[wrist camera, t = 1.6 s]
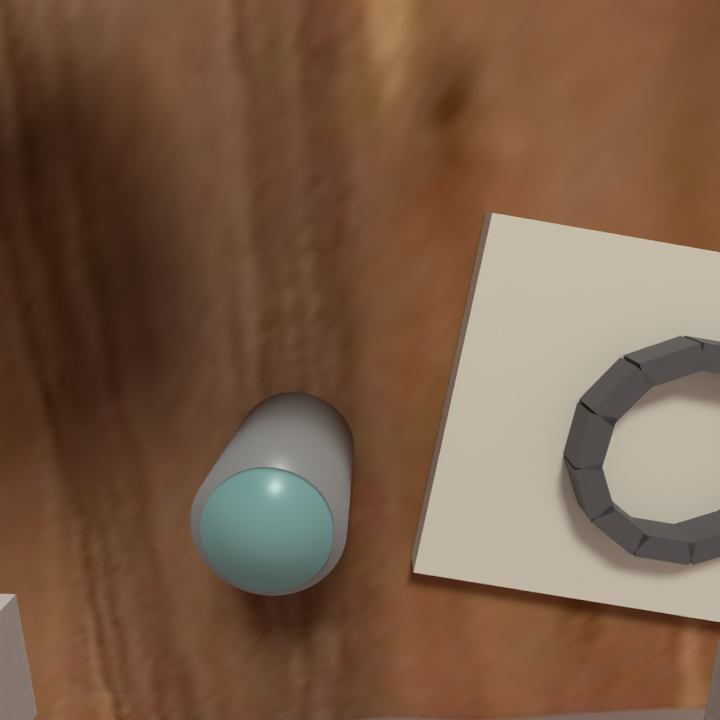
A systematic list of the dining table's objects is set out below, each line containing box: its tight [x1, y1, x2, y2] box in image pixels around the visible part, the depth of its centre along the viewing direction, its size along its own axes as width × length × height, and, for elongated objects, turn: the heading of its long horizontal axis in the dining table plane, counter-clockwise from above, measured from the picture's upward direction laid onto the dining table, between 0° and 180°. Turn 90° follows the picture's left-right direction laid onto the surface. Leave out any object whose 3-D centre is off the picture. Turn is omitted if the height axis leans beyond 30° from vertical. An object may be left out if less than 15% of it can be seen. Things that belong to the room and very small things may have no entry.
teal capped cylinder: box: [190, 392, 354, 596], centre depth 25 cm, size 6×6×8 cm
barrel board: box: [412, 213, 720, 622], centre depth 26 cm, size 22×18×3 cm
